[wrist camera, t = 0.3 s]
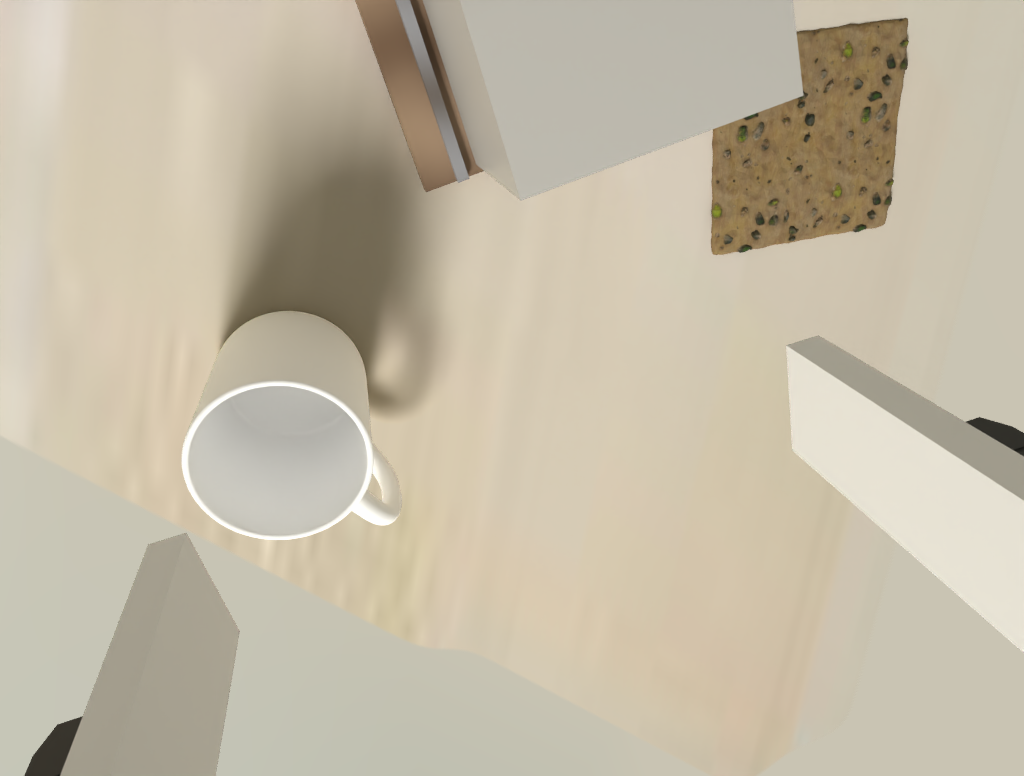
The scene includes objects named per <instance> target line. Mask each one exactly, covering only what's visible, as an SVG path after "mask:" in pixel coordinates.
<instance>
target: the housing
mask: <svg viewBox="0 0 1024 776" xmlns="http://www.w3.org/2000/svg"><path fill="white" fill-rule="evenodd" d="M423 3H424V6H425V9H426V12H427V15H428V18H429V21H430V24H431V27H432V30H433V34H434V37H435V40H436V43H437V46H438V49H439V52H440V55H441V58H442V61H443V64H444V67H445V70H446V73H447V76H448V80H449V83H450V86H451V89H452V92H453V95H454V98H455V101H456V104H457V107H458V110H459V113H460V116H461V119H462V123H463V126H464V129H465V132H466V135H467V138H468V141H469V144H470V147H471V150H472V153H473V156H474V159H475V162H476V165H477V166H479V167H480V168H481V169H482V170H484V171H485V172H486V173H487V174H489V175H490V176H491V177H492V178H493V179H495V180H496V181H497V182H498V183H500V184H501V185H502V186H503V187H505V188H506V189H507V190H508V191H509V192H511V193H512V194H513V195H514V196H516V197H517V198H518V199H519V200H524V199H527V198H529V197H532V196H535V195H538V194H540V193H543V192H546V191H548V190H551V189H554V188H556V187H559V186H562V185H564V184H567V183H570V182H573V181H575V180H578V179H581V178H583V177H586V176H589V175H591V174H594V173H597V172H599V171H602V170H605V169H607V168H610V167H613V166H616V165H618V164H621V163H624V162H626V161H629V160H632V159H634V158H637V157H640V156H642V155H645V154H648V153H650V152H653V151H656V150H659V149H661V148H664V147H667V146H669V145H672V144H675V143H677V142H680V141H683V140H685V139H688V138H691V137H694V136H696V135H699V134H702V133H704V132H707V131H710V130H712V129H715V128H718V127H720V126H723V125H726V124H728V123H731V122H734V121H737V120H739V119H742V118H745V117H747V116H750V115H753V114H755V113H758V112H761V111H763V110H766V109H769V108H771V107H774V106H777V105H780V104H782V103H785V102H788V101H790V100H793V99H796V98H798V97H801V96H803V87H802V78H801V69H800V60H799V51H798V42H797V33H796V24H795V15H794V6H793V0H423Z"/></svg>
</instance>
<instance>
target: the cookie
mask: <svg viewBox="0 0 1024 776" xmlns="http://www.w3.org/2000/svg"><path fill="white" fill-rule="evenodd" d="M907 27H908V19H906V18H905V19H900V20H887V21H878V22H870V23H864V24H849V25H844V26H841V27H835V28H827V29H818V30H814V31H801V32H796V33H797V42H798V51H799V60H800V69H801V78H802V87H803V96H801V97H798V98H796V99H793V100H790V101H788V102H785V103H782V104H780V105H777V106H774V107H771V108H769V109H766V110H763V111H761V112H758V113H755V114H753V115H750V116H747V117H745V118H742V119H739V120H737V121H734V122H731V123H728V124H726V125H723V126H720V127H718V128H715V129H713V141H712V148H713V167H712V197H713V199H712V211H711V212H712V229H711V233H712V238H711V248H712V253H713V254H714V255H718V254H719V255H723V254H727V253H732V252H745V251H747V250H749V249H750V250H751V249H759V248H764V247H767V246H770V245H774V244H782V243H790V242H795V241H799V240H804V239H812V238H816V237H820V236H824V235H830V234H840V233H845V232H849V231H854V232H859V231H861V230H863V229H869V228H877V227H879V226H882V225H884V224H885V221H886V217H887V210H888V207H889V206H890V205H891V201H892V197H891V187H892V185H893V182H894V180H893V179H892V177H893V167H894V159H895V146H896V133H897V116H898V111H899V106H900V97H901V93H902V88H903V78H904V74H905V70H906V69H907V66H908V61H907V59H906V48H907V45H908V42H909V41H908V40H907Z"/></svg>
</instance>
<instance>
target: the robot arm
mask: <svg viewBox="0 0 1024 776" xmlns="http://www.w3.org/2000/svg"><path fill="white" fill-rule="evenodd" d="M786 349H787V366H788V384H789V401H790V419H791V437H792V450H793V451H794V452H795V453H796V454H797V455H798V456H799V457H801V458H802V459H803V460H804V461H805V462H806V463H807V464H809V465H810V466H811V467H812V468H813V469H814V470H815V471H817V472H818V473H819V474H820V475H821V476H822V477H823V478H825V479H826V480H827V481H828V482H829V483H830V484H831V485H833V486H834V487H835V488H836V489H837V490H838V491H839V492H841V493H842V494H843V495H844V496H845V497H846V498H847V499H849V500H850V501H851V502H852V503H853V504H854V505H855V506H857V507H858V508H859V509H860V510H861V511H862V512H863V513H865V514H866V515H867V516H868V517H869V518H870V519H871V520H873V521H874V522H875V523H876V524H877V525H878V526H879V527H881V528H882V529H883V530H884V531H885V532H886V533H887V534H889V535H890V536H891V537H892V538H893V539H894V540H895V541H897V542H898V543H899V544H900V545H901V546H902V547H903V548H905V549H906V550H907V551H908V552H909V553H910V554H911V555H913V556H914V557H915V558H916V559H917V560H918V561H919V562H921V563H922V564H923V565H924V566H925V567H926V568H927V569H929V570H930V571H931V572H932V573H933V574H934V575H935V576H937V577H938V578H939V579H940V580H941V581H942V582H944V583H945V584H946V585H947V586H948V587H949V588H950V589H951V590H953V591H954V592H955V593H956V594H957V595H958V596H960V597H961V598H962V599H963V600H964V601H965V602H966V603H967V604H969V605H970V606H971V607H972V608H973V609H974V610H975V611H977V612H978V613H979V614H980V615H981V616H982V617H983V618H985V619H986V620H987V621H988V622H989V623H990V624H991V625H993V626H994V627H995V628H996V629H997V630H998V631H999V632H1001V633H1002V634H1003V635H1004V636H1005V637H1006V638H1007V639H1009V640H1010V641H1011V642H1012V643H1013V644H1014V645H1015V646H1017V647H1018V648H1019V649H1020V650H1021V651H1022V652H1023V653H1024V433H1023V432H1021V431H1019V430H1017V429H1016V428H1014V427H1012V426H1008V425H1005V424H1001V423H998V422H994V421H990V420H987V419H984V418H980V417H979V418H976V419H973V420H970V421H967V422H964V421H963V420H961V419H959V418H957V417H956V416H954V415H953V414H951V413H949V412H947V411H946V410H944V409H942V408H941V407H939V406H937V405H936V404H934V403H932V402H931V401H929V400H927V399H925V398H924V397H922V396H920V395H919V394H917V393H915V392H914V391H912V390H910V389H908V388H907V387H905V386H903V385H902V384H900V383H898V382H897V381H895V380H893V379H892V378H890V377H888V376H886V375H885V374H883V373H881V372H880V371H878V370H876V369H875V368H873V367H871V366H869V365H868V364H866V363H864V362H863V361H861V360H859V359H858V358H856V357H854V356H853V355H851V354H849V353H847V352H846V351H844V350H842V349H841V348H839V347H837V346H836V345H834V344H832V343H830V342H829V341H827V340H825V339H824V338H822V337H820V336H819V335H818V336H815V337H812V338H809V339H805V340H802V341H799V342H796V343H793V344H789V345H786ZM239 632H240V631H239V629H238V627H237V625H236V623H235V621H234V620H233V618H232V616H231V614H230V612H229V610H228V609H227V607H226V605H225V603H224V601H223V600H222V598H221V596H220V594H219V592H218V590H217V588H216V586H215V585H214V583H213V581H212V579H211V577H210V575H209V574H208V572H207V570H206V568H205V566H204V564H203V563H202V561H201V559H200V557H199V555H198V553H197V551H196V550H195V548H194V546H193V544H192V542H191V540H190V539H189V537H188V535H187V533H184V534H181V535H178V536H174V537H171V538H168V539H165V540H161V541H158V542H155V543H152V544H149V545H148V546H147V549H146V552H145V554H144V557H143V559H142V562H141V565H140V568H139V570H138V573H137V575H136V578H135V581H134V583H133V586H132V588H131V591H130V594H129V596H128V599H127V602H126V604H125V607H124V609H123V612H122V615H121V617H120V620H119V622H118V625H117V628H116V631H115V633H114V636H113V638H112V641H111V643H110V646H109V649H108V651H107V654H106V657H105V659H104V662H103V664H102V667H101V670H100V672H99V675H98V678H97V681H96V683H95V685H94V688H93V691H92V693H91V696H90V699H89V701H88V704H87V706H86V709H85V712H84V714H83V716H82V717H80V718H77V719H73V720H70V721H67V722H64V723H61V724H58V725H57V726H56V727H55V728H54V730H53V731H52V732H51V734H50V735H49V736H48V737H47V739H46V740H45V741H44V743H43V744H42V745H41V746H40V748H39V749H38V750H37V752H36V753H35V754H34V756H33V757H32V759H31V762H30V764H29V767H28V769H27V771H26V773H25V776H216V770H217V764H218V758H219V752H220V746H221V740H222V734H223V728H224V722H225V716H226V710H227V704H228V698H229V692H230V686H231V680H232V674H233V668H234V662H235V656H236V650H237V644H238V638H239Z"/></svg>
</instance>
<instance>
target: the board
mask: <svg viewBox="0 0 1024 776" xmlns="http://www.w3.org/2000/svg"><path fill="white" fill-rule="evenodd" d="M355 1H356V4H357V6H358V9H359V12H360V15H361V17H362V20H363V23H364V26H365V28H366V31H367V34H368V37H369V39H370V42H371V45H372V48H373V50H374V53H375V56H376V59H377V61H378V64H379V67H380V69H381V72H382V75H383V78H384V80H385V83H386V86H387V89H388V91H389V94H390V97H391V100H392V102H393V105H394V108H395V111H396V113H397V116H398V119H399V122H400V124H401V127H402V130H403V132H404V135H405V138H406V141H407V143H408V146H409V149H410V152H411V154H412V157H413V160H414V163H415V165H416V168H417V171H418V174H419V176H420V179H421V182H422V185H423V187H424V189H425V191H426V192H428V191H431V190H433V189H436V188H439V187H441V186H444V185H447V184H450V183H452V182H455V181H457V182H458V183H459V182H462V181H464V180H467V179H469V176H471V175H474V174H477V173H479V172H482V171H484V170H482V169H481V168H480V167H479V166H477V165H476V162H475V159H474V156H473V153H472V150H471V147H470V144H469V141H468V138H467V135H466V132H465V129H464V126H463V123H462V119H461V116H460V113H459V110H458V107H457V104H456V101H455V98H454V95H453V92H452V89H451V86H450V83H449V80H448V76H447V73H446V70H445V67H444V64H443V61H442V58H441V55H440V52H439V49H438V46H437V43H436V40H435V37H434V34H433V30H432V27H431V24H430V21H429V18H428V15H427V12H426V9H425V6H424V3H423V0H355Z"/></svg>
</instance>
